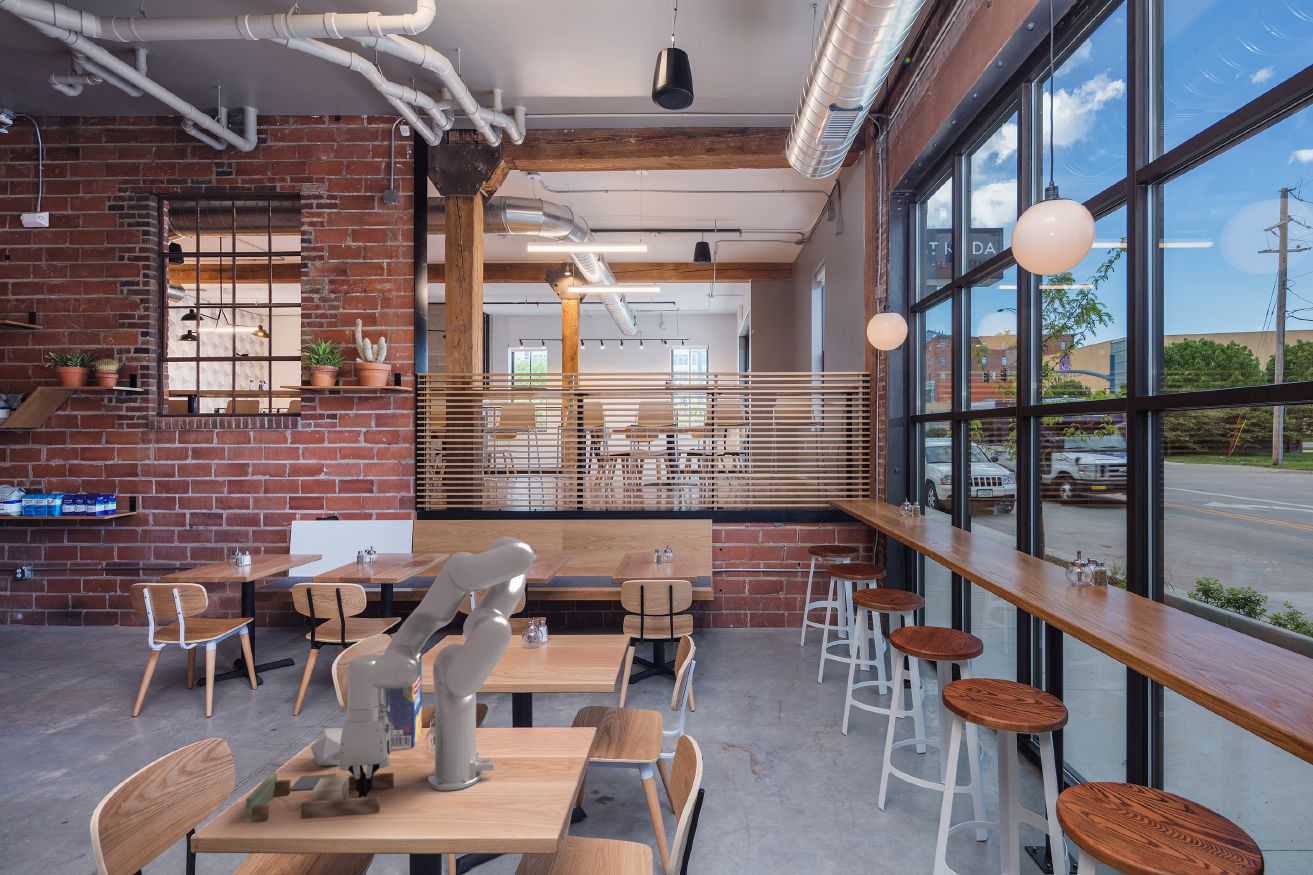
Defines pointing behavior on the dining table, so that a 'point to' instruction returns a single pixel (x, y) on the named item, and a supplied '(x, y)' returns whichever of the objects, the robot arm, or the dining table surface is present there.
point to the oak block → (331, 788)
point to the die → (327, 747)
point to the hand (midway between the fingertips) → (364, 793)
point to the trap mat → (308, 782)
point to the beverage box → (405, 713)
